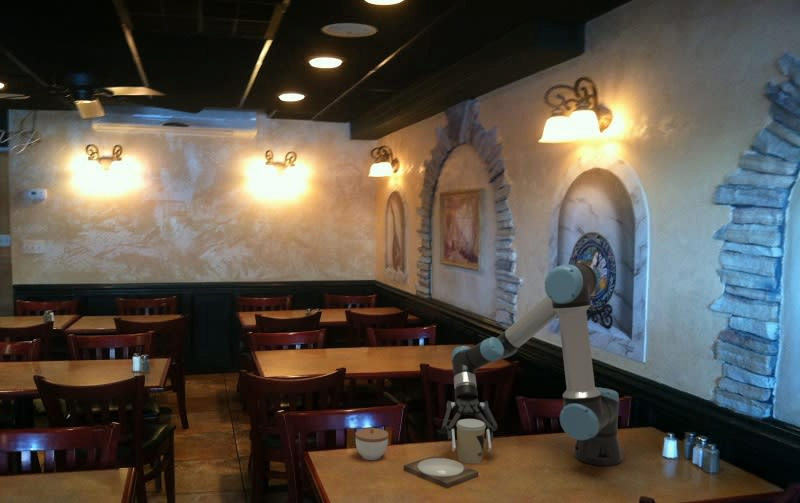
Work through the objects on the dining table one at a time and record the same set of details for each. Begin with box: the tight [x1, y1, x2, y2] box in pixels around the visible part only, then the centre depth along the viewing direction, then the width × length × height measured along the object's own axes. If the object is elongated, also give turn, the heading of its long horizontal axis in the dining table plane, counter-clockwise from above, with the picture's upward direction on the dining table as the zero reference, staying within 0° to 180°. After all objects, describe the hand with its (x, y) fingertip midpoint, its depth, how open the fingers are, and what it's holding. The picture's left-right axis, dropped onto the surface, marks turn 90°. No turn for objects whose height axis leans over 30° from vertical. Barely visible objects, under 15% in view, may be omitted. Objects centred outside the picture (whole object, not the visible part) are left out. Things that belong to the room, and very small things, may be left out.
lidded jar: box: [354, 427, 389, 461], centre depth 225 cm, size 11×11×9 cm
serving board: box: [403, 454, 479, 489], centre depth 213 cm, size 18×14×2 cm
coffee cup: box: [456, 418, 486, 465], centre depth 225 cm, size 9×9×12 cm
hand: (471, 449), depth 222 cm, fingers open, 11 cm apart
